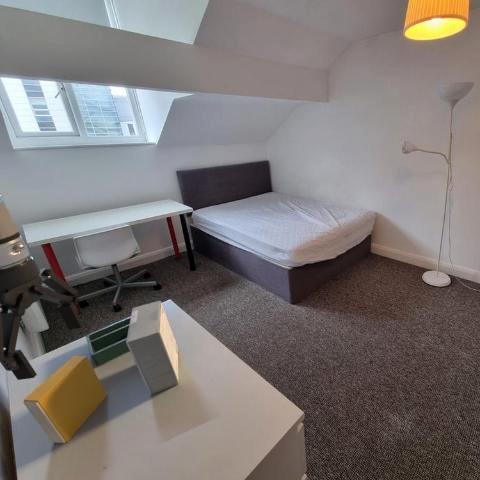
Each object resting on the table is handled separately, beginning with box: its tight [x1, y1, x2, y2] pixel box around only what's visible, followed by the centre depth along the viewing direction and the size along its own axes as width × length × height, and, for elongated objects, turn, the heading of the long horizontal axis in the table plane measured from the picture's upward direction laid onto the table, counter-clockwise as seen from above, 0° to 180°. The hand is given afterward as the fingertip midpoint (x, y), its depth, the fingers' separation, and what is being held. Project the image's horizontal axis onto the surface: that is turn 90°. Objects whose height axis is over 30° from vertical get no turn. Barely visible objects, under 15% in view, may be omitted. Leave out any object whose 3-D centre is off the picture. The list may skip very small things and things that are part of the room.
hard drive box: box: [126, 300, 180, 396], centre depth 78 cm, size 16×8×20 cm, turn 27°
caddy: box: [85, 316, 131, 368], centre depth 92 cm, size 12×16×5 cm
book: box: [23, 355, 108, 444], centre depth 66 cm, size 4×12×15 cm, turn 175°
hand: (54, 350), depth 57 cm, fingers open, 13 cm apart
